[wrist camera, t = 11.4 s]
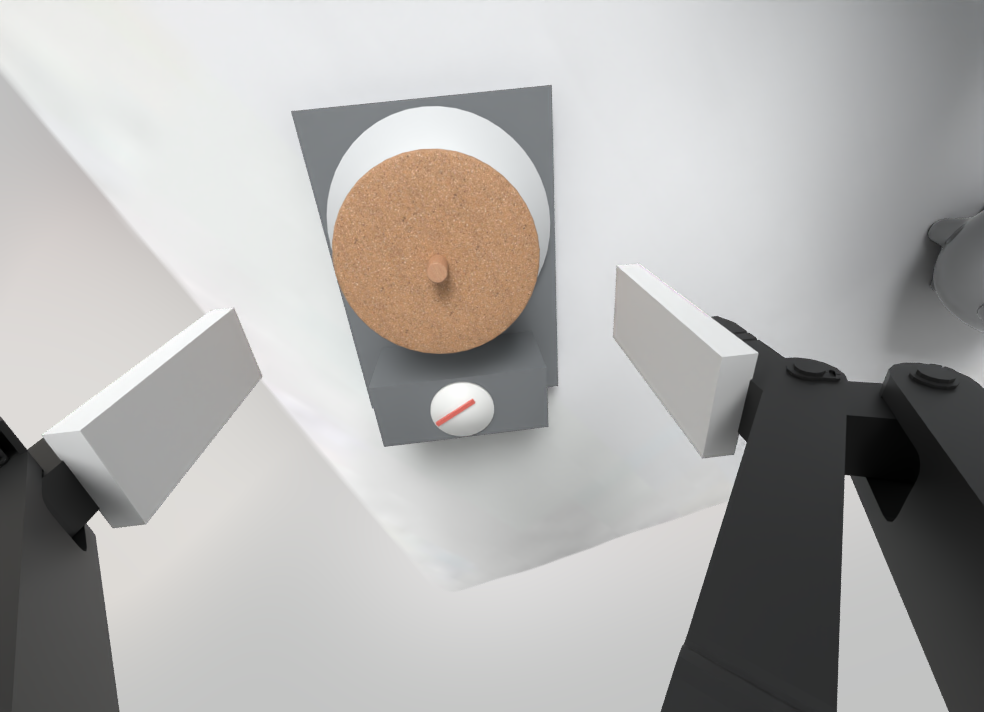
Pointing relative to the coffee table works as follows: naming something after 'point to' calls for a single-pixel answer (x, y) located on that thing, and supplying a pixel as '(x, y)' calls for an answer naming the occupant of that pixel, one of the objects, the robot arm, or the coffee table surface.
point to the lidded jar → (435, 251)
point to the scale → (533, 335)
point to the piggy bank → (960, 267)
